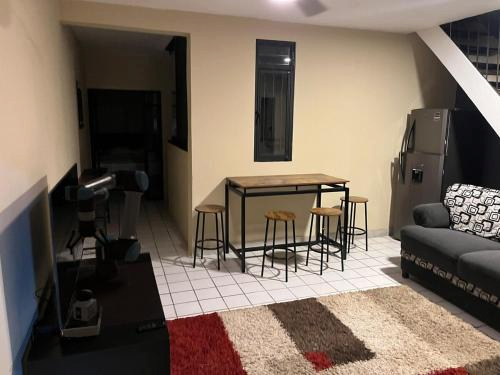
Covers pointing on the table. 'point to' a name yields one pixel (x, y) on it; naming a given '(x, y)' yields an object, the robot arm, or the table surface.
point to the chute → (83, 328)
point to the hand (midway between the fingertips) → (89, 259)
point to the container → (84, 306)
